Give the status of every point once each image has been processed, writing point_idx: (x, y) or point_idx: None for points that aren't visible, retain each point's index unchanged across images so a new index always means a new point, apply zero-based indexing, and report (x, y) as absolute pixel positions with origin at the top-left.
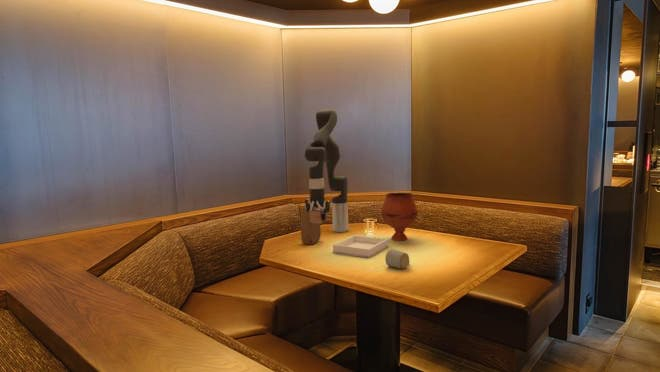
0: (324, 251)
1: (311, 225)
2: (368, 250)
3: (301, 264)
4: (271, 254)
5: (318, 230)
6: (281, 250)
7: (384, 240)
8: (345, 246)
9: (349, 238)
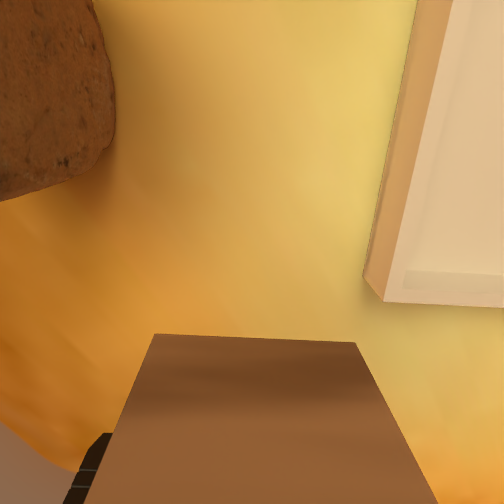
0: (295, 269)
1: (16, 179)
2: None
3: None
4: (38, 421)
5: (57, 12)
6: (23, 346)
7: None
8: (491, 306)
9: (464, 30)
